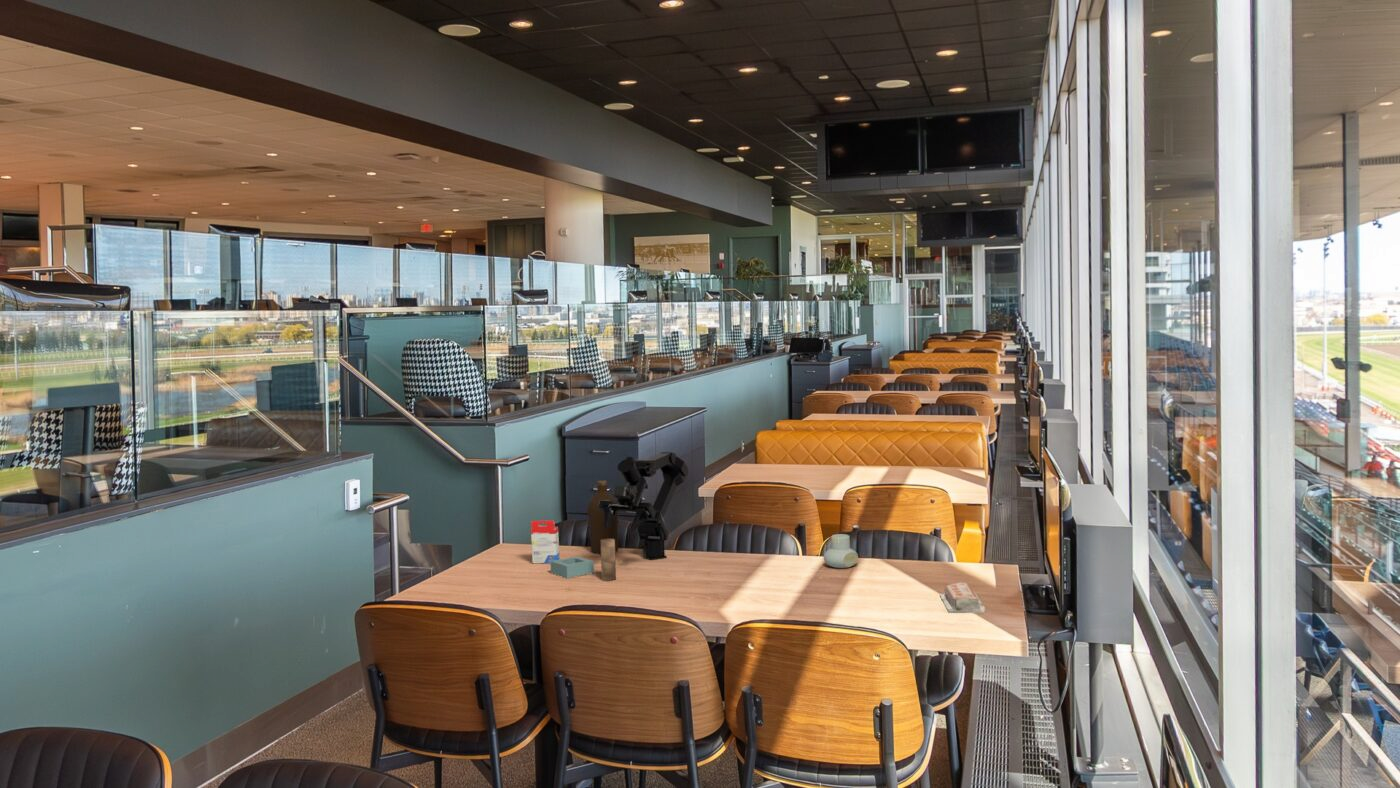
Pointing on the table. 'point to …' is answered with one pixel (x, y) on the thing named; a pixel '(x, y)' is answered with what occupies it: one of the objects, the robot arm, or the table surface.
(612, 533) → the olive oil
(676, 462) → the robot arm
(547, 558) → the ink box
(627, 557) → the table surface
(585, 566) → the socket block
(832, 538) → the pale green rounded piece
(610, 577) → the peg
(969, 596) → the packaged product
